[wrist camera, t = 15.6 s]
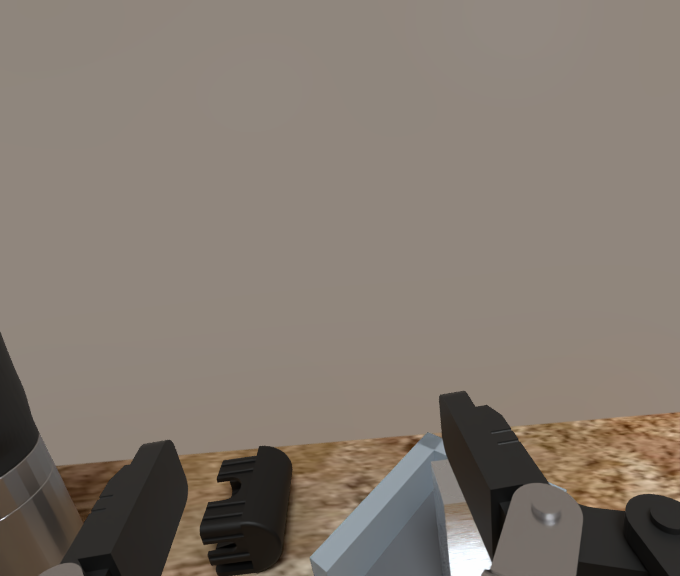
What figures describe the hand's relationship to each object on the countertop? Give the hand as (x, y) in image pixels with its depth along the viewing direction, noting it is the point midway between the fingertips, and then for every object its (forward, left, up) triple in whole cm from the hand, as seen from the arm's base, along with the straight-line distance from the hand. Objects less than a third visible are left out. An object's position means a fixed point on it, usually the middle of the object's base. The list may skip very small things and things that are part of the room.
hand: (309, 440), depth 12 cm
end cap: (-24, +8, -28) cm, 38 cm away
